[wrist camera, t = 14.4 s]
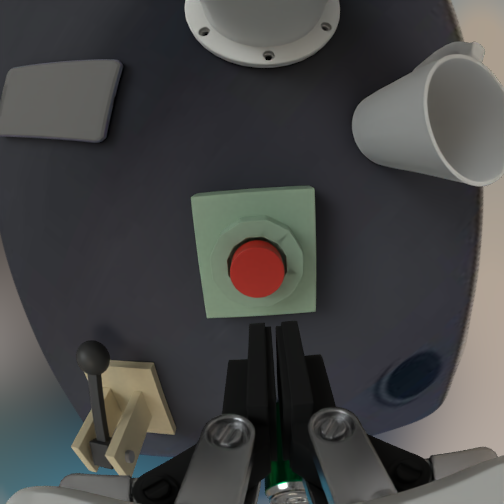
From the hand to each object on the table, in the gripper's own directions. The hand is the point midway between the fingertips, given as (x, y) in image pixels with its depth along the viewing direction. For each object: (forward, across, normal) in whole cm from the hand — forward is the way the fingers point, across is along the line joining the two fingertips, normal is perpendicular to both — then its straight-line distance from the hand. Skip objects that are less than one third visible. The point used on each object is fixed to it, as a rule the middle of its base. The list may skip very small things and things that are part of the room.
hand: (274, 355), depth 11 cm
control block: (+15, +1, +1) cm, 15 cm away
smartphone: (+15, +19, -15) cm, 29 cm away
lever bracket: (+15, +16, +18) cm, 28 cm away
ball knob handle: (+10, +17, +14) cm, 24 cm away
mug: (+15, -11, -10) cm, 22 cm away
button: (+11, +1, +1) cm, 11 cm away
